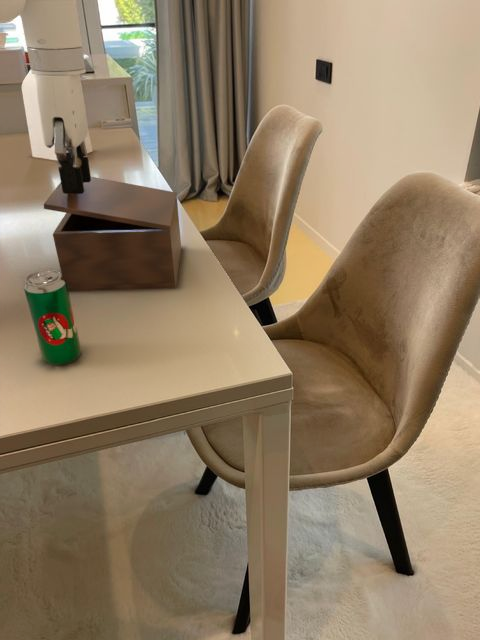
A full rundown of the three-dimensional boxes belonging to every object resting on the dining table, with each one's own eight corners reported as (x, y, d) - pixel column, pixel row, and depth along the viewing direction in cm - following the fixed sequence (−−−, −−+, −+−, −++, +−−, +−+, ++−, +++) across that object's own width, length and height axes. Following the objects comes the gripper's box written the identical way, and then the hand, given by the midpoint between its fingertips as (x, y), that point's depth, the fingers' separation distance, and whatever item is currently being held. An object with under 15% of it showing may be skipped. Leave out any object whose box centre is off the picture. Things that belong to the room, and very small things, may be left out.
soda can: (58, 343, 79) (39, 265, 72) (89, 350, 77) (72, 271, 71) (35, 363, 75) (12, 282, 68) (67, 370, 73) (47, 289, 67)
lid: (43, 209, 84) (43, 173, 81) (67, 176, 97) (68, 145, 94) (169, 230, 87) (173, 197, 84) (176, 196, 100) (180, 166, 97)
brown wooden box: (65, 291, 92) (52, 233, 86) (85, 251, 105) (75, 199, 99) (175, 288, 92) (170, 231, 87) (181, 248, 106) (176, 197, 100)
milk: (62, 147, 167) (43, 49, 153) (92, 151, 163) (76, 51, 149) (32, 156, 158) (9, 53, 144) (63, 161, 154) (43, 56, 140)
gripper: (45, 54, 87) (65, 172, 97) (12, 68, 73) (40, 205, 83) (94, 55, 87) (109, 172, 97) (71, 69, 73) (91, 204, 83)
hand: (77, 186), depth 90 cm, fingers closed on lid, 5 cm apart
